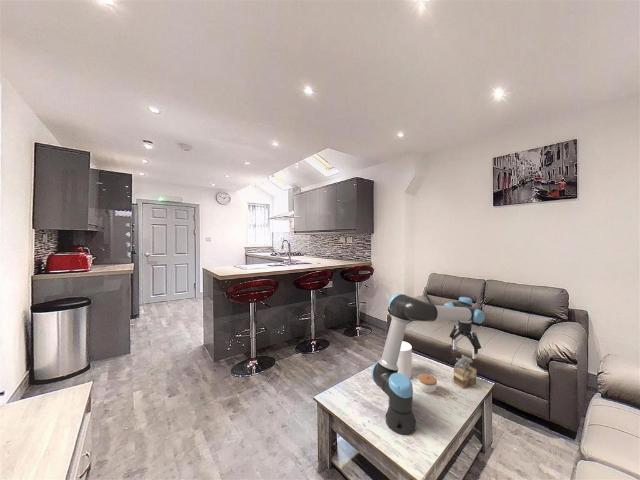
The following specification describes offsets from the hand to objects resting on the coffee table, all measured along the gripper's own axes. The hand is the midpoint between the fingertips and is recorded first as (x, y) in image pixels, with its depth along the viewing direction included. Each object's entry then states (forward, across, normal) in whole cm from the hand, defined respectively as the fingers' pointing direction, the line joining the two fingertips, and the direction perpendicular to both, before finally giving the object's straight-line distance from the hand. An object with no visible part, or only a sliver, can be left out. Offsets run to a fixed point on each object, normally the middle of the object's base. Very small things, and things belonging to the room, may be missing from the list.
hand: (464, 353), depth 162 cm
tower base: (+20, 0, -1) cm, 20 cm away
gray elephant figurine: (+10, 0, -1) cm, 10 cm away
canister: (+20, +27, +29) cm, 45 cm away
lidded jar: (+20, +5, +27) cm, 34 cm away
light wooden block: (+15, 0, -1) cm, 15 cm away
